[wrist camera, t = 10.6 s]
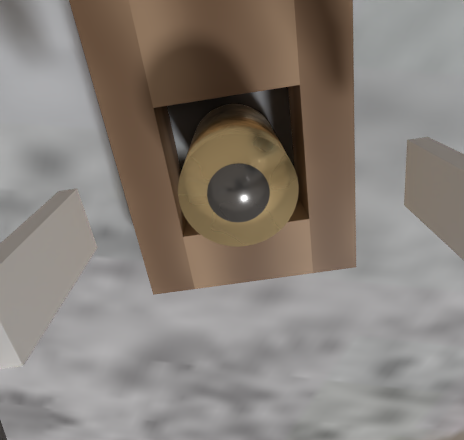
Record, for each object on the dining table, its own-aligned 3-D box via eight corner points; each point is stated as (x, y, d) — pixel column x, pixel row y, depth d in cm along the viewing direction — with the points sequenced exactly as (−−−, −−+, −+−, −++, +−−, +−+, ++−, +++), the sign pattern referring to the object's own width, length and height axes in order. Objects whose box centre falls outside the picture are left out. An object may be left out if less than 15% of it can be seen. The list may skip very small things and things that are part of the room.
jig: (321, -211, 17) (349, -283, 13) (337, 235, 26) (356, 267, 22) (53, -159, 17) (7, -214, 13) (163, 259, 26) (153, 294, 23)
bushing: (271, 97, 22) (294, 124, 15) (279, 179, 24) (302, 238, 17) (185, 110, 22) (166, 143, 15) (200, 190, 24) (190, 253, 17)
